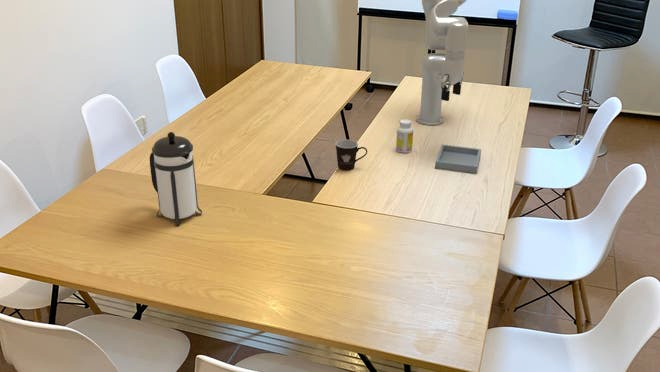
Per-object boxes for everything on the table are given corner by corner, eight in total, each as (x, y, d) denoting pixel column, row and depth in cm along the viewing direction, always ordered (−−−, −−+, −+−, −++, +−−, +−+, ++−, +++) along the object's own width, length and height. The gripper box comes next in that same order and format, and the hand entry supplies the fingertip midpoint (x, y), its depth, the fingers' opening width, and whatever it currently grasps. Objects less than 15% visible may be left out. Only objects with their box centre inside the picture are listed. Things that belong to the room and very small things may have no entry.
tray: (441, 151, 268) (441, 144, 267) (480, 155, 264) (481, 149, 263) (435, 168, 252) (435, 161, 251) (476, 173, 248) (477, 166, 247)
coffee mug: (331, 169, 251) (331, 145, 246) (341, 161, 258) (341, 137, 253) (358, 175, 246) (359, 151, 242) (367, 167, 253) (368, 143, 248)
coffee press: (205, 203, 224) (198, 122, 211) (198, 226, 210) (190, 141, 197) (155, 203, 224) (145, 122, 210) (145, 226, 209) (133, 141, 196)
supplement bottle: (411, 147, 271) (413, 118, 265) (412, 153, 265) (414, 124, 259) (395, 146, 272) (397, 118, 266) (395, 153, 266) (397, 123, 260)
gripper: (456, 48, 255) (452, 90, 263) (435, 57, 243) (431, 100, 250) (473, 51, 251) (469, 93, 259) (453, 60, 239) (449, 104, 246)
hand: (450, 97), depth 254 cm, fingers open, 9 cm apart
